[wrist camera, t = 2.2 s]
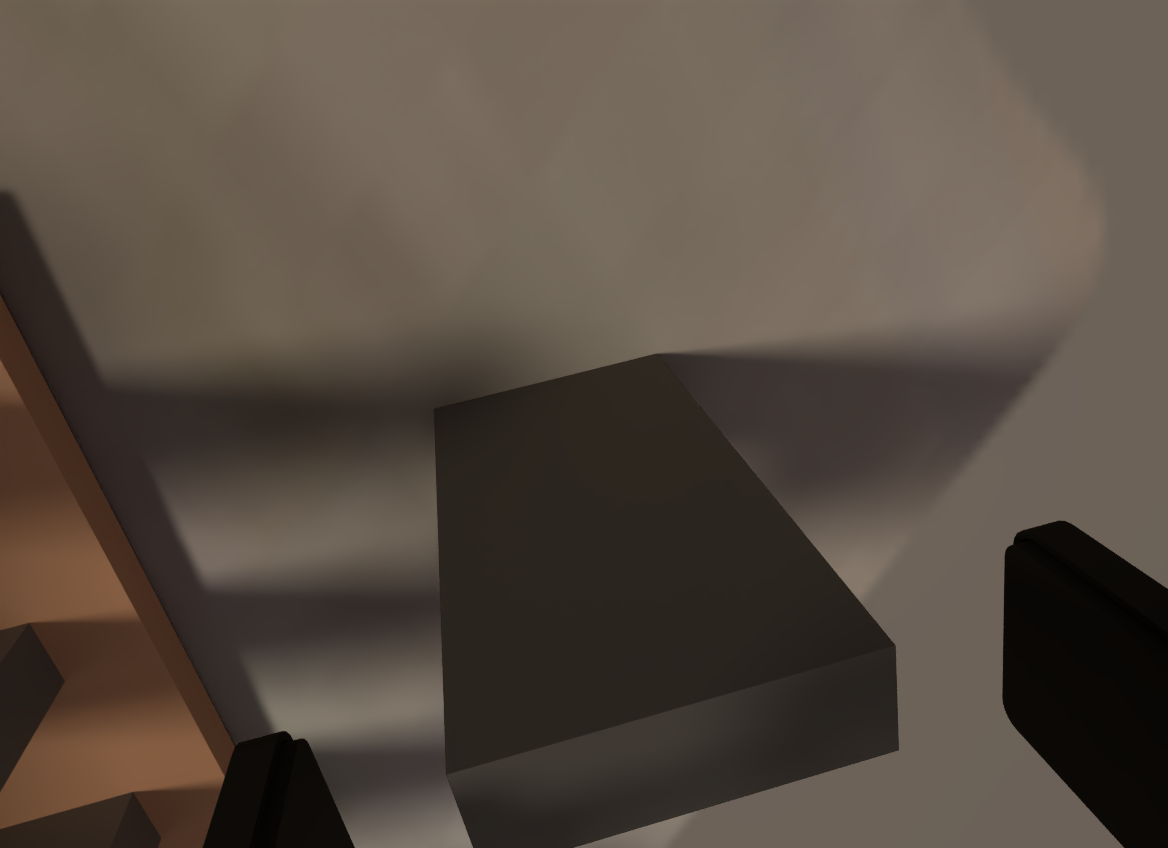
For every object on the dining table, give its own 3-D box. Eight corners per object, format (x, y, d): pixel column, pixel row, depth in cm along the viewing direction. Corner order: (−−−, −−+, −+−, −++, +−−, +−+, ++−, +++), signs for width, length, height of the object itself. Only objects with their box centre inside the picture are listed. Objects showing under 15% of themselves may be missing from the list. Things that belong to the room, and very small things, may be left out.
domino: (434, 409, 17) (445, 774, 8) (656, 354, 18) (895, 645, 9) (453, 473, 18) (483, 874, 9) (667, 418, 19) (898, 750, 10)
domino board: (-616, 310, 13) (-690, 328, 13) (-54, 190, 14) (-86, 199, 13) (88, 1124, 24) (76, 1164, 24) (382, 1032, 25) (381, 1068, 24)
